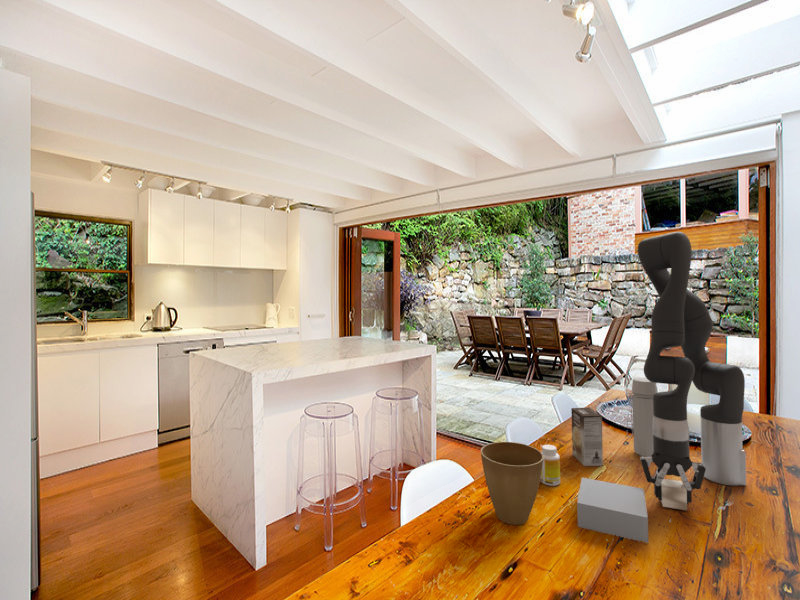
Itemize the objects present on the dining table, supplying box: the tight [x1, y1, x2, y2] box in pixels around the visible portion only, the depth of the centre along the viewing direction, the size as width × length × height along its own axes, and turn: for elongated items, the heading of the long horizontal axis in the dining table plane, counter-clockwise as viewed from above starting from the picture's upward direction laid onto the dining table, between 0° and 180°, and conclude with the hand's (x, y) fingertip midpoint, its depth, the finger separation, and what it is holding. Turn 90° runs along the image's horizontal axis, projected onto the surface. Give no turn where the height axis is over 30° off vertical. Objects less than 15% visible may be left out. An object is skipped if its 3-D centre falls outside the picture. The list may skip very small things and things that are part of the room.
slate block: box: [576, 477, 649, 544], centre depth 94 cm, size 14×14×6 cm
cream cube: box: [660, 478, 688, 511], centre depth 98 cm, size 5×5×5 cm
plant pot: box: [480, 441, 544, 526], centre depth 96 cm, size 15×15×16 cm
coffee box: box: [570, 407, 604, 467], centre depth 126 cm, size 9×6×16 cm
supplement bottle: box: [540, 444, 561, 487], centre depth 113 cm, size 6×6×10 cm
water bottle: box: [626, 377, 658, 457], centre depth 130 cm, size 9×8×25 cm
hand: (672, 500), depth 98 cm, fingers closed on cream cube, 5 cm apart
